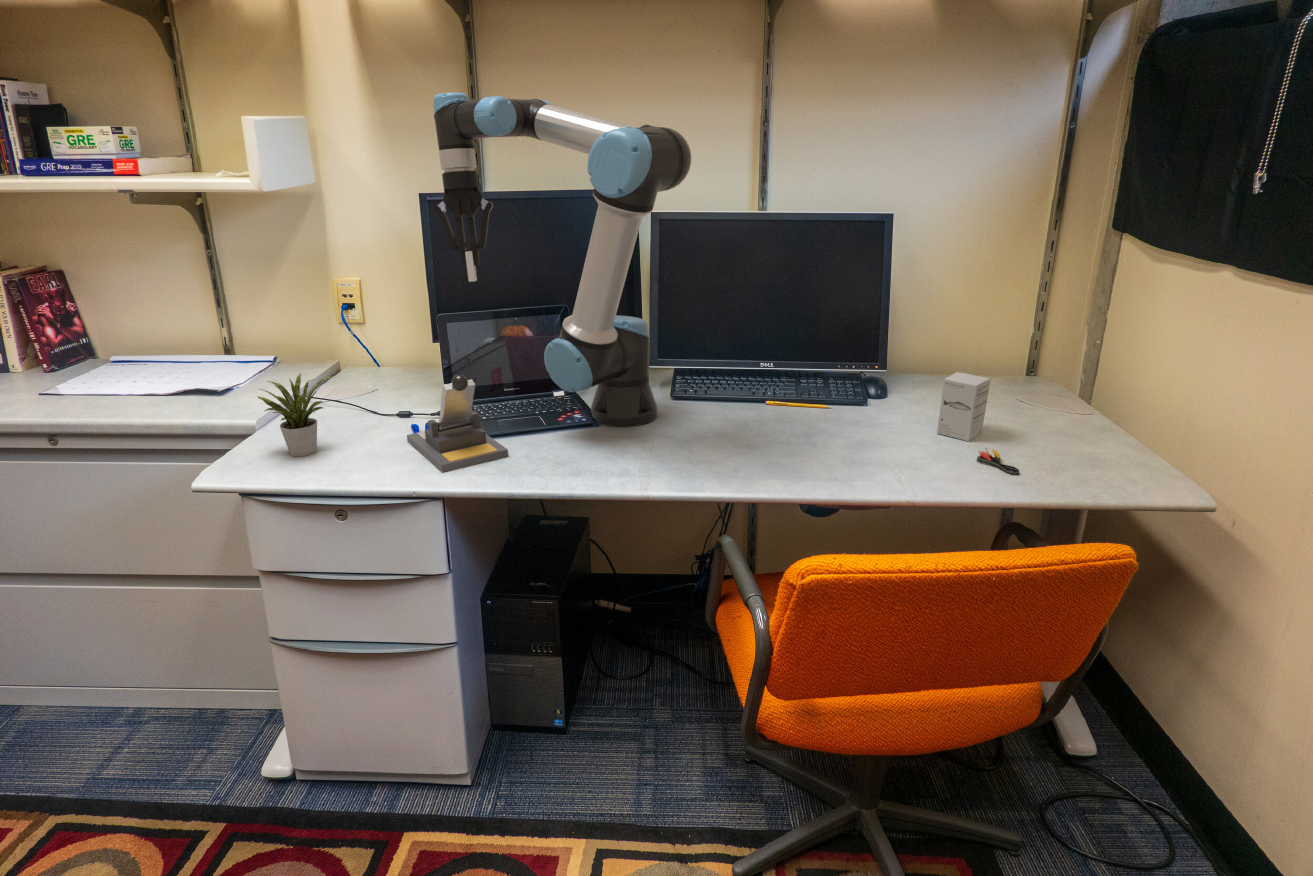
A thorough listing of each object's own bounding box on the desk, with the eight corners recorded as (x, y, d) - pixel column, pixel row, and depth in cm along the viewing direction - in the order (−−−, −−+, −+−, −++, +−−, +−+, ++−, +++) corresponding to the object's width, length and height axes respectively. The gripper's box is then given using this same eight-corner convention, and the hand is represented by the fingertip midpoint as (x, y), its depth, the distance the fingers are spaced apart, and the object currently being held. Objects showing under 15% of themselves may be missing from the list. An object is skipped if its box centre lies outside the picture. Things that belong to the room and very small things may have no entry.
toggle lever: (434, 425, 168) (440, 374, 158) (466, 418, 172) (474, 368, 162) (440, 436, 166) (446, 385, 157) (472, 429, 170) (480, 378, 160)
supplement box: (935, 434, 177) (942, 378, 172) (950, 425, 182) (957, 370, 177) (968, 442, 172) (977, 385, 167) (983, 433, 177) (991, 377, 172)
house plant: (327, 432, 180) (315, 360, 174) (356, 448, 170) (344, 373, 165) (260, 449, 170) (245, 374, 164) (287, 468, 161) (272, 389, 155)
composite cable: (1022, 476, 157) (1024, 464, 156) (1000, 478, 156) (1002, 466, 155) (991, 457, 165) (993, 445, 165) (970, 459, 164) (972, 447, 164)
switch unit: (407, 441, 174) (403, 410, 172) (469, 428, 182) (466, 398, 179) (442, 472, 159) (438, 438, 156) (508, 456, 166) (505, 424, 164)
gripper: (491, 169, 181) (503, 277, 188) (432, 173, 180) (446, 281, 187) (487, 168, 174) (500, 280, 181) (425, 171, 173) (440, 284, 180)
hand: (472, 280), depth 184 cm, fingers closed
